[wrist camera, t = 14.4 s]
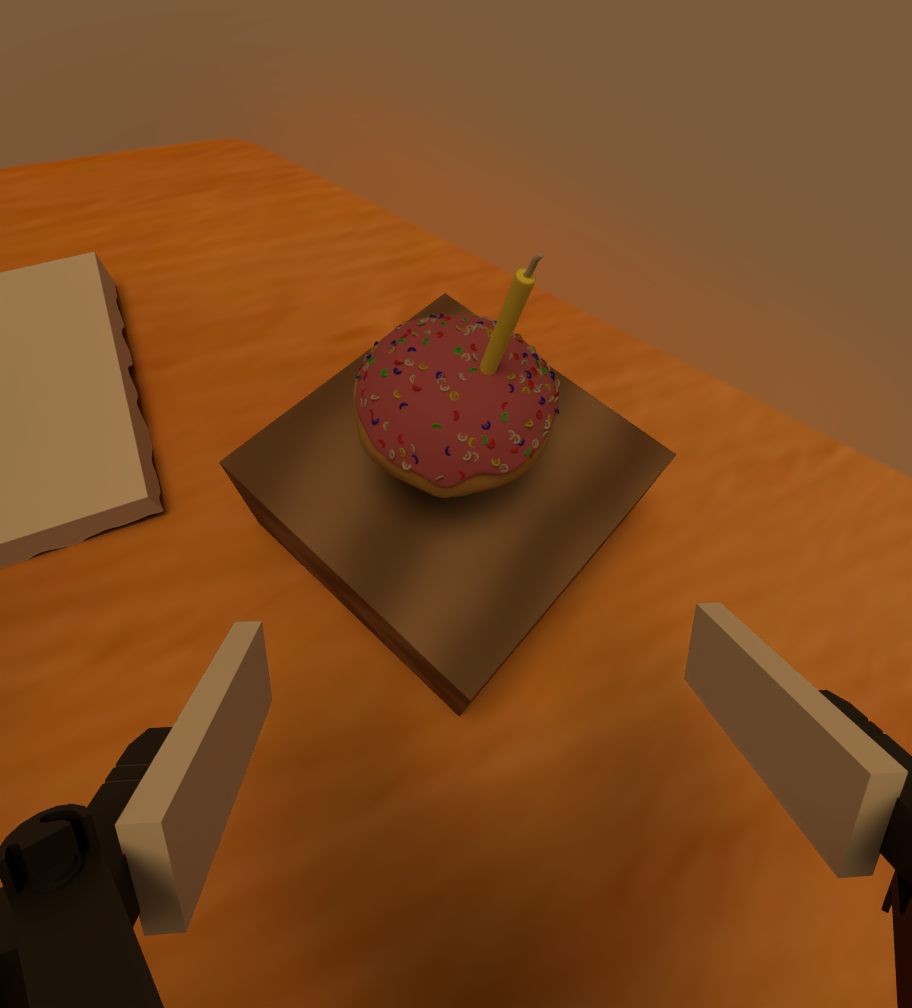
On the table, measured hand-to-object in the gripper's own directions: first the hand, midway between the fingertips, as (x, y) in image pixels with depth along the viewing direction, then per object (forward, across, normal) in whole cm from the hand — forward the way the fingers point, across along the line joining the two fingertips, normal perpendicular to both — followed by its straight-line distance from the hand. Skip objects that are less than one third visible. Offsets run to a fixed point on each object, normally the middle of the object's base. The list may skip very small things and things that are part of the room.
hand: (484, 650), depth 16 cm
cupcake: (+12, 0, +3) cm, 12 cm away
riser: (+17, 0, -2) cm, 17 cm away
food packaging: (+23, -27, +3) cm, 35 cm away
